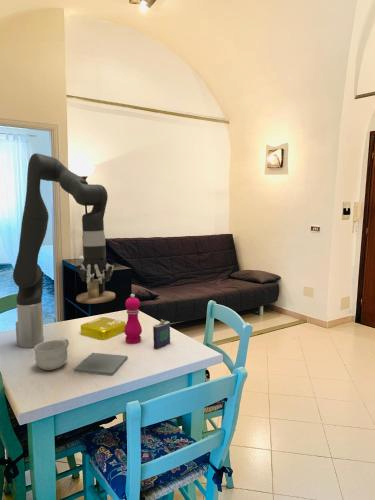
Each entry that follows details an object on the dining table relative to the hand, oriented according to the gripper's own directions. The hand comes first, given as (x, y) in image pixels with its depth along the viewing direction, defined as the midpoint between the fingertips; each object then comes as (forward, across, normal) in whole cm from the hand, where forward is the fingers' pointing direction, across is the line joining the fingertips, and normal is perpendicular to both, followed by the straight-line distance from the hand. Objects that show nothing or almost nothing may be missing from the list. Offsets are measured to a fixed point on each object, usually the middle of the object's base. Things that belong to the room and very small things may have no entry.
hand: (96, 293), depth 129 cm
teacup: (+26, -16, -3) cm, 30 cm away
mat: (+26, +1, 0) cm, 26 cm away
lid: (+2, 0, 0) cm, 2 cm away
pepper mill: (+26, +4, +24) cm, 36 cm away
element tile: (+26, -13, +31) cm, 43 cm away
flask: (+27, +17, +22) cm, 38 cm away
